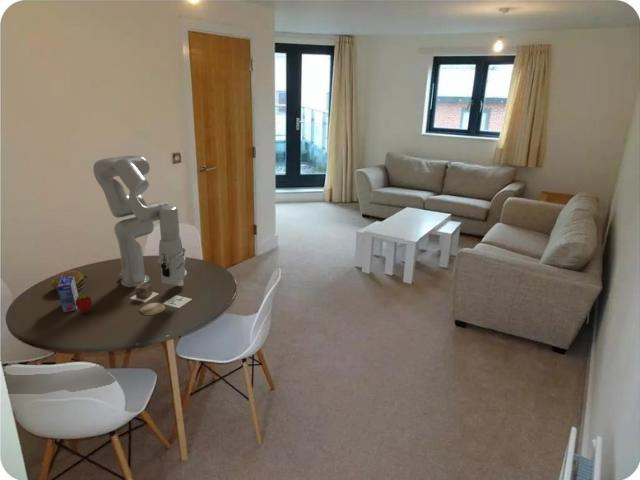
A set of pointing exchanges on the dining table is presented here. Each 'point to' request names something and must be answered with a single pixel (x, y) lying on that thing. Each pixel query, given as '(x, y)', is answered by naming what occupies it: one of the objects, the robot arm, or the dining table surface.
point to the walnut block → (143, 291)
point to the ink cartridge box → (67, 293)
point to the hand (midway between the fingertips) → (173, 272)
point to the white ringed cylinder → (182, 279)
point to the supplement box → (175, 270)
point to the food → (77, 276)
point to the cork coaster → (152, 308)
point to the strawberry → (83, 303)
